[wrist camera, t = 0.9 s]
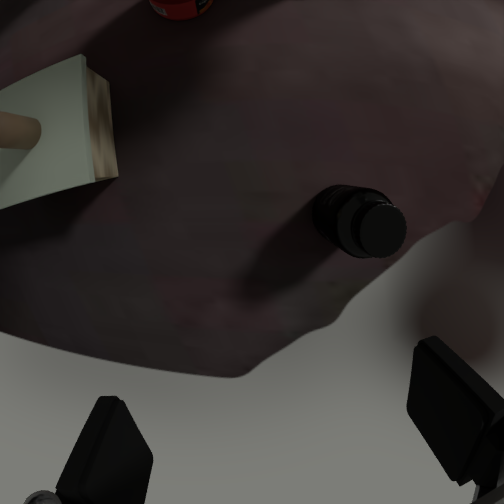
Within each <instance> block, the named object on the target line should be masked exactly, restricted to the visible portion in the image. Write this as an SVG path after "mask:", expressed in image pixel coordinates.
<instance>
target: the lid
mask: <svg viewBox="0 0 504 504" xmlns="http://www.w3.org/2000/svg"><path fill="white" fill-rule="evenodd" d="M93 182H95V175H94V168H93V160H92V151H91V142H90V131H89V119H88V104H87V82H86V57H85V56H83V55H82V54H79V55H77V56H74V57H71V58H69V59H66V60H64V61H61V62H59V63H57V64H54V65H52V66H50V67H47V68H45V69H43V70H41V71H38V72H36V73H34V74H32V75H30V76H28V77H26V78H24V79H22V80H20V81H18V82H16V83H14V84H12V85H10V86H8V87H6V88H5V89H3V90H1V91H0V209H4V208H7V207H10V206H13V205H16V204H19V203H22V202H25V201H28V200H32V199H35V198H38V197H42V196H45V195H48V194H52V193H55V192H59V191H63V190H66V189H70V188H74V187H78V186H81V185H85V184H89V183H93Z"/></svg>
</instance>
